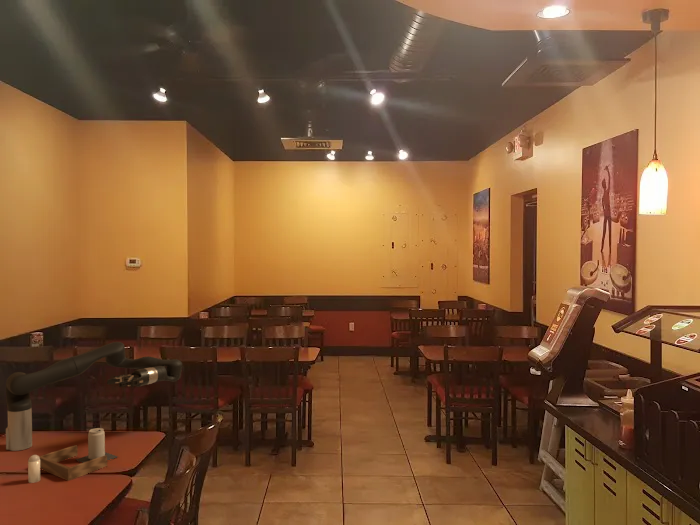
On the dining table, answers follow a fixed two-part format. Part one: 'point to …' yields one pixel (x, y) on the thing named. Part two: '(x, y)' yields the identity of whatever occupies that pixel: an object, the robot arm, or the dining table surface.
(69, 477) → the condiment rack
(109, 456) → the coaster
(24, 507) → the dining table surface
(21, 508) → the dining table surface
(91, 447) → the beverage can
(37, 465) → the salt shaker
